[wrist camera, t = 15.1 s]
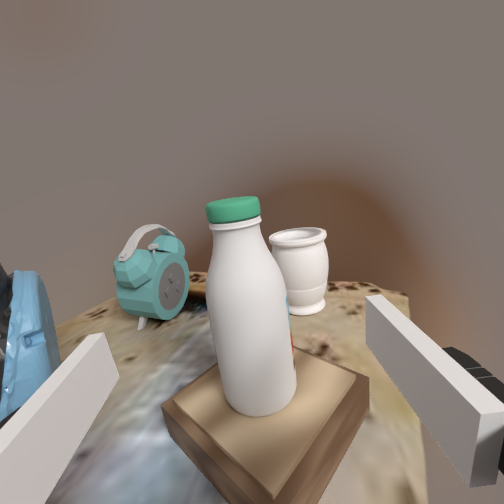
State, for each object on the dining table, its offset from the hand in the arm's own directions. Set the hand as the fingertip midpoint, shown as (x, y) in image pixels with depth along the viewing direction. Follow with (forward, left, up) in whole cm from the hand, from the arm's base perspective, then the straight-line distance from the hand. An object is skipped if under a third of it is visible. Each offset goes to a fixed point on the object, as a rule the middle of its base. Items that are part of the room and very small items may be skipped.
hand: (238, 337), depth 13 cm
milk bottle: (-8, +8, -14) cm, 18 cm away
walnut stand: (-8, +8, -19) cm, 22 cm away
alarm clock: (-43, +14, -19) cm, 49 cm away
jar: (-19, +32, -19) cm, 42 cm away
